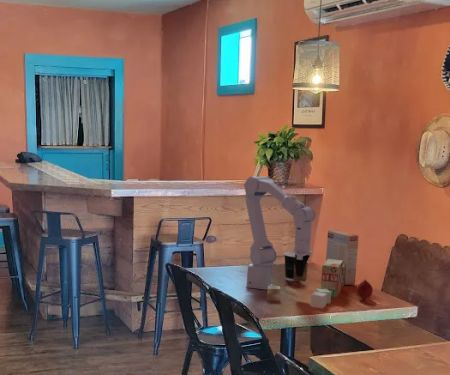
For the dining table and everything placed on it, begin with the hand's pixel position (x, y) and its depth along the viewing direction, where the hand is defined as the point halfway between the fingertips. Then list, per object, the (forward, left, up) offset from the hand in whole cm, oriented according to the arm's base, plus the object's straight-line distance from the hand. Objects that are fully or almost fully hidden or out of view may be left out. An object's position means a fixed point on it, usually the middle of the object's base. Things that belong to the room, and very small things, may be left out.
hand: (300, 274), depth 231 cm
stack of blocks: (+12, +17, -9) cm, 22 cm away
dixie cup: (-6, +27, -9) cm, 29 cm away
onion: (+24, +8, -9) cm, 27 cm away
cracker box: (+14, +33, -9) cm, 37 cm away
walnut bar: (0, 0, -2) cm, 2 cm away
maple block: (-9, -5, -9) cm, 14 cm away
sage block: (+9, -2, -9) cm, 13 cm away
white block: (+8, -7, -9) cm, 14 cm away
